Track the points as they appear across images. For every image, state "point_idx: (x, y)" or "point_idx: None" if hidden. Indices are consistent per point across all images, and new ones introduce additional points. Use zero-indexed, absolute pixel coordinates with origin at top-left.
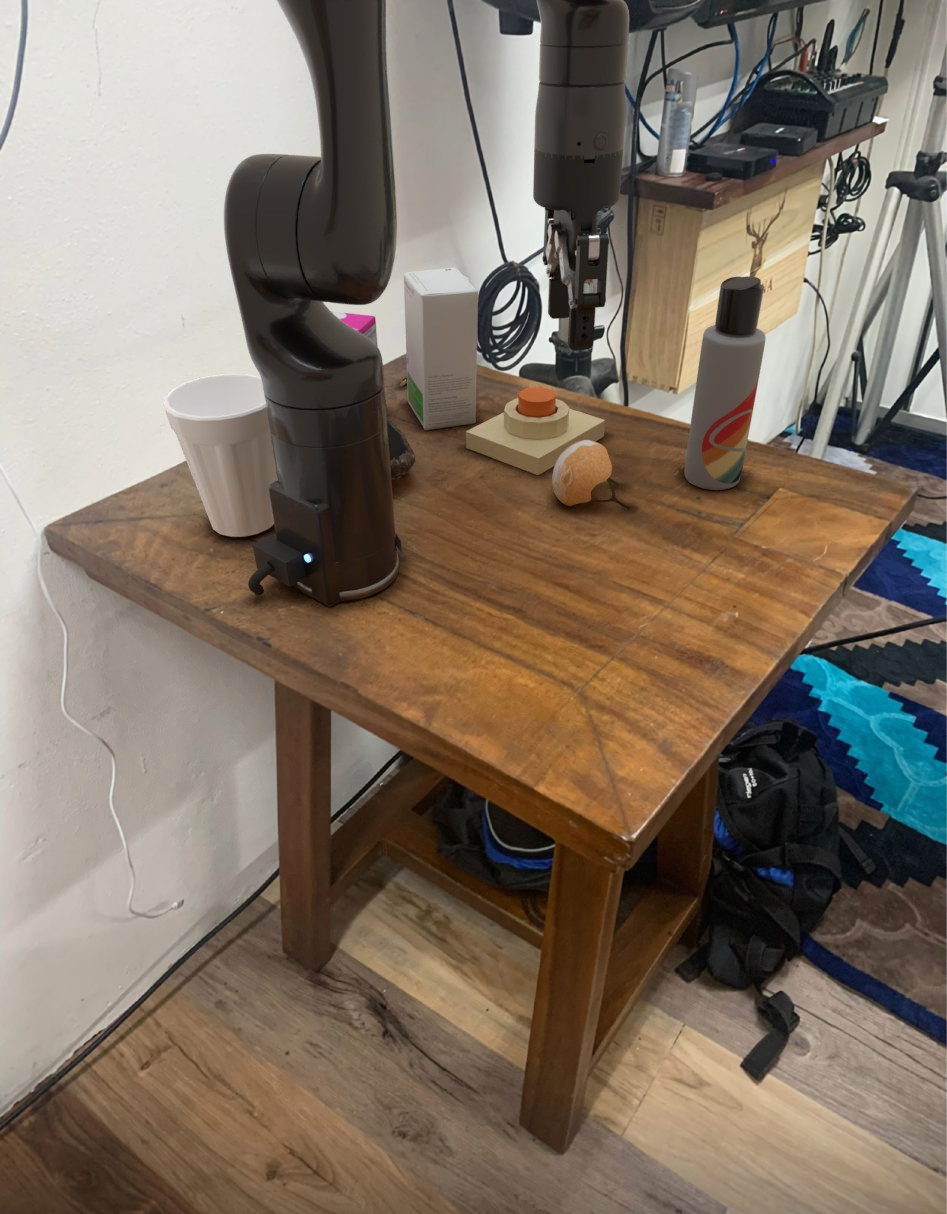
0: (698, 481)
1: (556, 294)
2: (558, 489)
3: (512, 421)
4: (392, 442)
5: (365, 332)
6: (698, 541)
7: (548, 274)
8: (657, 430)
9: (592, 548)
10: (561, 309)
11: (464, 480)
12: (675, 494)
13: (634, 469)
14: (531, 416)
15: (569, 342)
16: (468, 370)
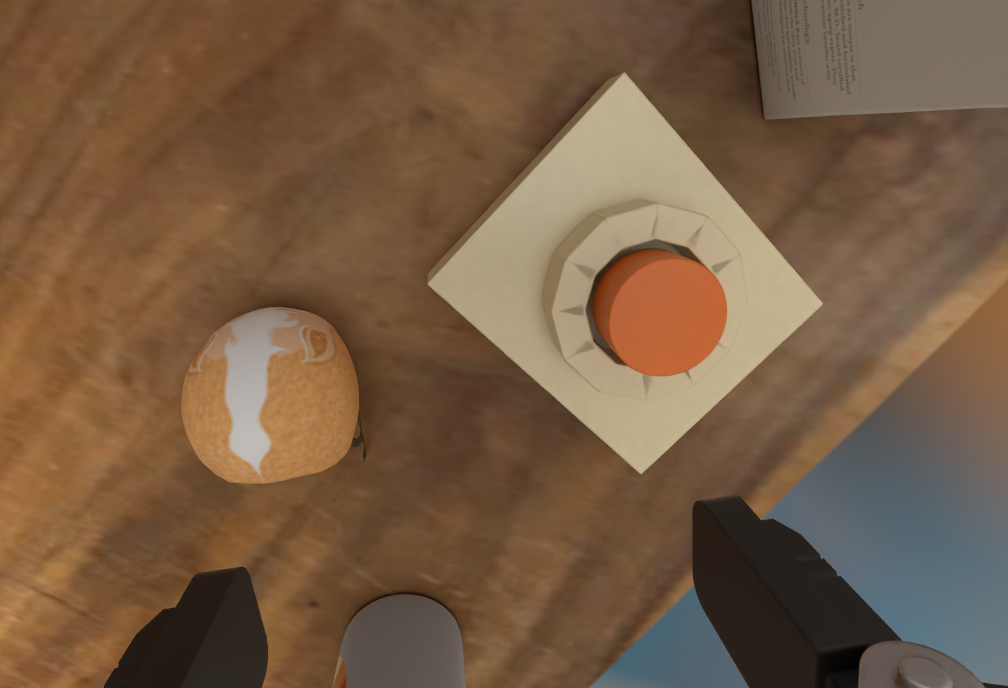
0: (356, 620)
1: (758, 613)
2: (229, 321)
3: (593, 225)
4: None
5: None
6: (124, 580)
7: (886, 666)
8: (642, 567)
9: (62, 368)
10: (711, 577)
11: (408, 61)
12: (330, 565)
13: (451, 499)
14: (599, 286)
15: (193, 587)
16: (870, 78)
